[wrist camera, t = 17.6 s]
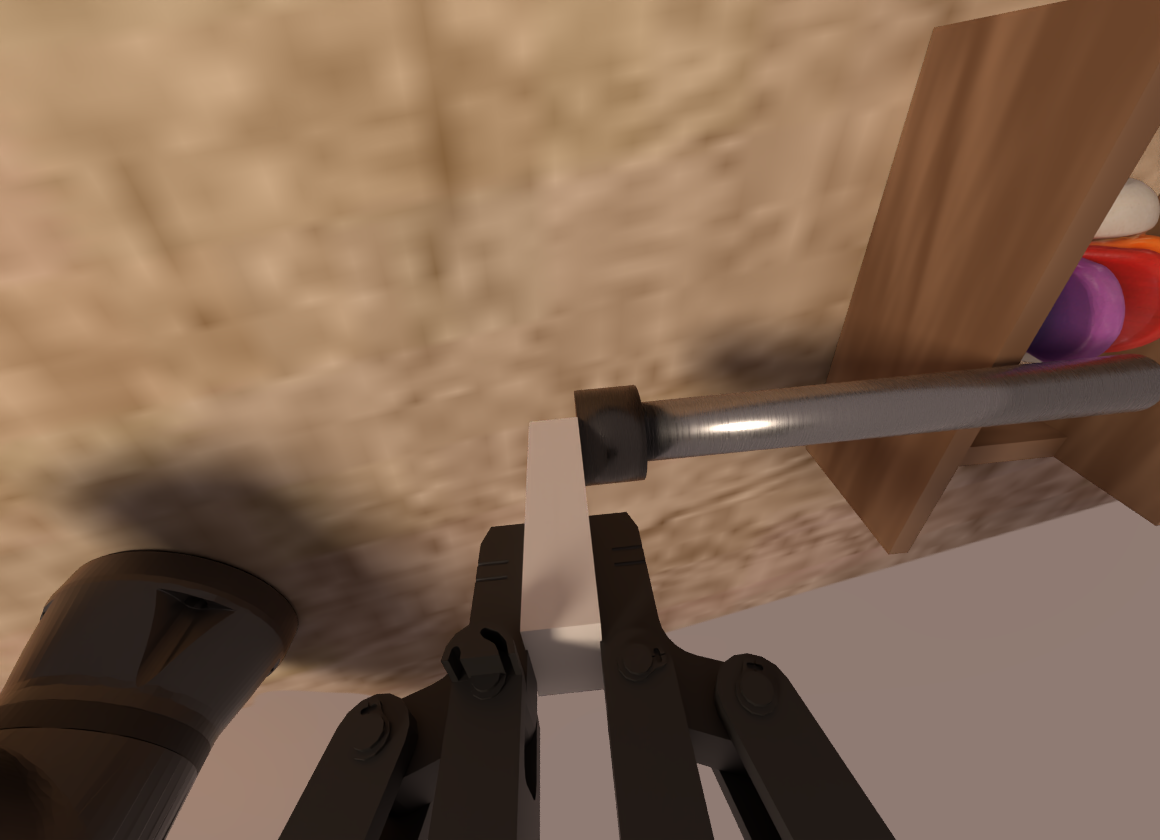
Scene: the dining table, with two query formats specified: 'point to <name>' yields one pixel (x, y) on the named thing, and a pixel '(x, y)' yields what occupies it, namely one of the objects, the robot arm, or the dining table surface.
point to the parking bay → (999, 245)
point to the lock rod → (850, 411)
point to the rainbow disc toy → (1109, 287)
